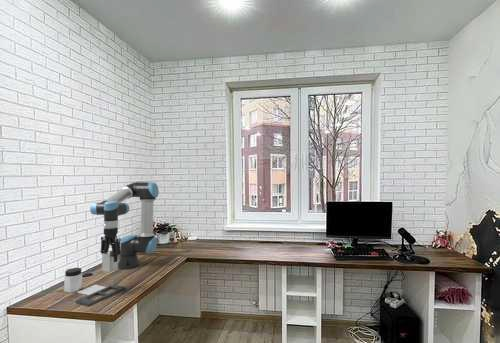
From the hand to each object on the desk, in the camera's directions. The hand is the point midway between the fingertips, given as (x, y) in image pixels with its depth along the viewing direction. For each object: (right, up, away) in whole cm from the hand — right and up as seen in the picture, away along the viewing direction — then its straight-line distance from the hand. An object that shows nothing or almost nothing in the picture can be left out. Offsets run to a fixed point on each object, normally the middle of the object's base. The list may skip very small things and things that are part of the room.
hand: (110, 266), depth 158 cm
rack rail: (-2, -15, -5) cm, 16 cm away
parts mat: (-12, -15, +2) cm, 19 cm away
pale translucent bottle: (0, -2, 0) cm, 2 cm away
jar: (-24, -15, +2) cm, 28 cm away
